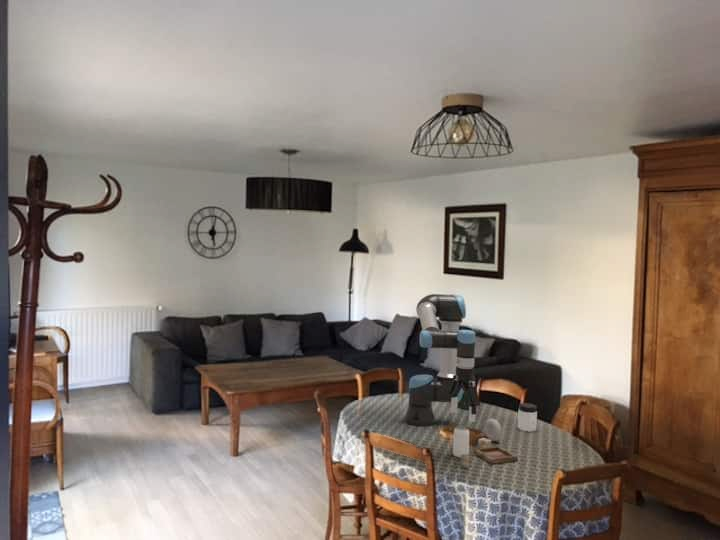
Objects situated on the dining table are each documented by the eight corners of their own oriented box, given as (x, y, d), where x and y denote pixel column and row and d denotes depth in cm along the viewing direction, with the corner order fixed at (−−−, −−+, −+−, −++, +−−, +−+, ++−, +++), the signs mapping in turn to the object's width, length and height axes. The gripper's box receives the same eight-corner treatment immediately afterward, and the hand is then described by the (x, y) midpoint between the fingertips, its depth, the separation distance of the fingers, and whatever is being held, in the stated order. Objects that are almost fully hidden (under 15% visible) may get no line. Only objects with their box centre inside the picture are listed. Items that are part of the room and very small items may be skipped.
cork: (459, 465, 228) (459, 454, 228) (466, 464, 229) (466, 453, 229) (463, 468, 225) (464, 457, 225) (470, 467, 226) (471, 456, 226)
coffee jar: (477, 408, 313) (478, 375, 312) (466, 410, 308) (468, 377, 308) (464, 404, 321) (465, 372, 320) (454, 406, 316) (455, 373, 315)
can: (451, 452, 242) (452, 424, 242) (466, 452, 243) (467, 425, 242) (455, 458, 236) (456, 429, 235) (470, 458, 236) (471, 429, 236)
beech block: (478, 448, 249) (478, 439, 249) (483, 446, 252) (483, 437, 251) (485, 451, 246) (486, 441, 246) (491, 449, 249) (491, 440, 249)
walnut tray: (473, 453, 242) (473, 449, 242) (498, 450, 247) (498, 446, 247) (491, 464, 230) (491, 459, 230) (517, 461, 235) (517, 456, 235)
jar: (527, 433, 273) (528, 408, 272) (514, 428, 280) (515, 404, 279) (539, 430, 278) (540, 406, 277) (526, 425, 285) (527, 402, 284)
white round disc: (502, 443, 256) (503, 421, 256) (496, 444, 255) (497, 422, 254) (488, 436, 265) (489, 415, 265) (482, 437, 264) (483, 416, 263)
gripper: (441, 361, 248) (439, 409, 249) (474, 373, 225) (472, 426, 226) (456, 360, 251) (454, 408, 252) (490, 372, 228) (487, 424, 229)
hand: (462, 416), depth 239 cm, fingers open, 13 cm apart
